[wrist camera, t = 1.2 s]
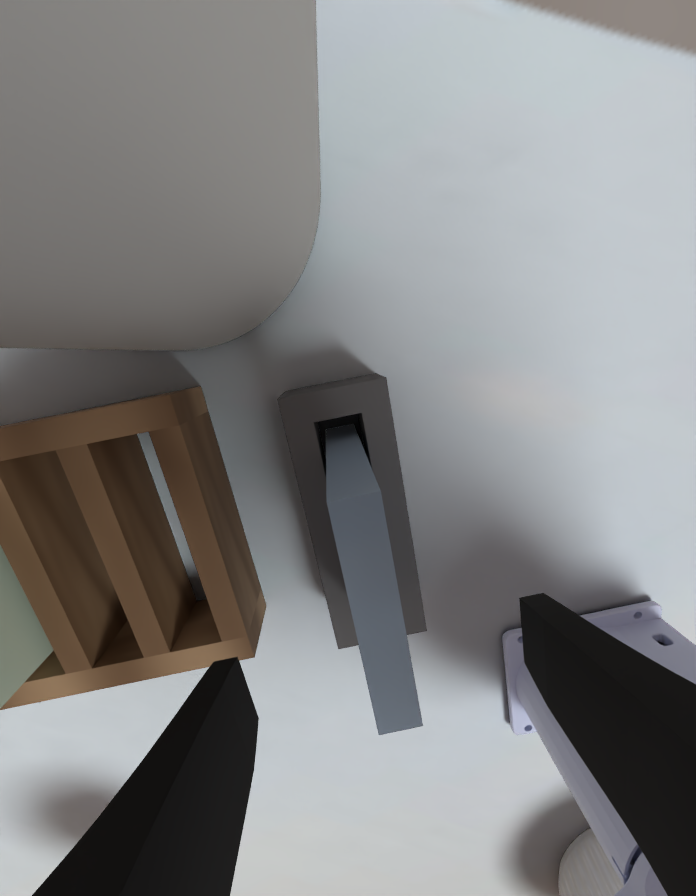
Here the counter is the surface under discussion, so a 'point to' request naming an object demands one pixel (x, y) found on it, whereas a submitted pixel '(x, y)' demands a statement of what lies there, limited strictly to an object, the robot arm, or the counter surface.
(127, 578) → the rack
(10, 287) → the cylinder vase
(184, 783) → the robot arm
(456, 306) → the counter surface
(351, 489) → the blue grey tile
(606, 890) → the ramekin
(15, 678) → the thin sage green tile
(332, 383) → the stand
